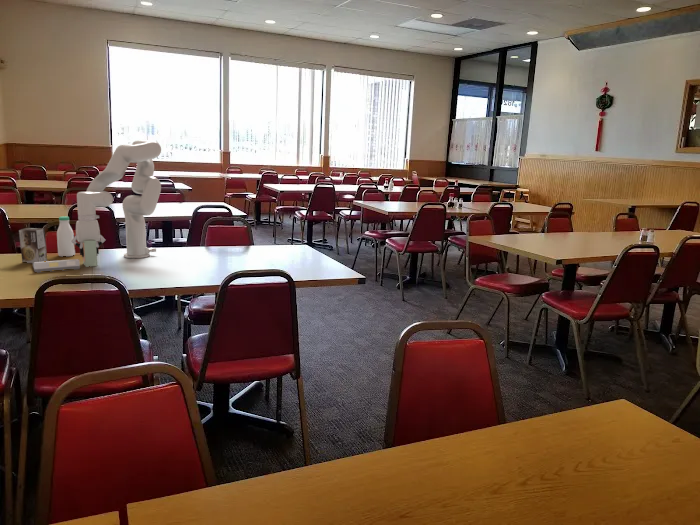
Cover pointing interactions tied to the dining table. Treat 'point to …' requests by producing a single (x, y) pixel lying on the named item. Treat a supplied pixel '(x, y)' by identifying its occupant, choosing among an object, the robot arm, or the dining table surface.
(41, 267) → the shelf board
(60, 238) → the milk bottle
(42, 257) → the coffee box
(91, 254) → the box
